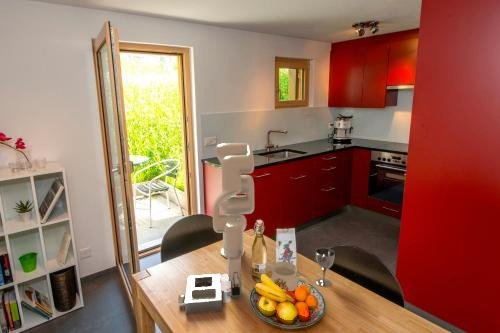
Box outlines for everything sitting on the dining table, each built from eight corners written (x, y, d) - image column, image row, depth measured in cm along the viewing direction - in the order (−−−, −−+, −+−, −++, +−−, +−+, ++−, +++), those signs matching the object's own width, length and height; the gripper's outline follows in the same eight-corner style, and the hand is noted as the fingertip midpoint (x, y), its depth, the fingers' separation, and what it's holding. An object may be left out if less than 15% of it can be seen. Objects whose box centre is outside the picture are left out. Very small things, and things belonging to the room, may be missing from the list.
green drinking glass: (228, 290, 134) (228, 270, 132) (240, 289, 135) (240, 269, 133) (229, 298, 129) (228, 277, 127) (241, 297, 130) (241, 276, 128)
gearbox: (182, 286, 137) (181, 271, 136) (220, 283, 139) (220, 268, 137) (177, 314, 120) (176, 297, 118) (221, 311, 122) (221, 294, 120)
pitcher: (304, 311, 121) (305, 279, 118) (261, 299, 128) (261, 270, 125) (310, 294, 131) (311, 265, 128) (270, 284, 138) (270, 256, 135)
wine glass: (334, 287, 136) (336, 256, 132) (316, 287, 136) (318, 256, 132) (330, 277, 143) (331, 247, 140) (313, 277, 143) (314, 247, 140)
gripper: (224, 241, 135) (225, 277, 139) (226, 262, 119) (227, 302, 123) (241, 240, 136) (242, 275, 140) (245, 261, 119) (246, 300, 123)
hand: (235, 288), depth 131 cm, fingers open, 8 cm apart
